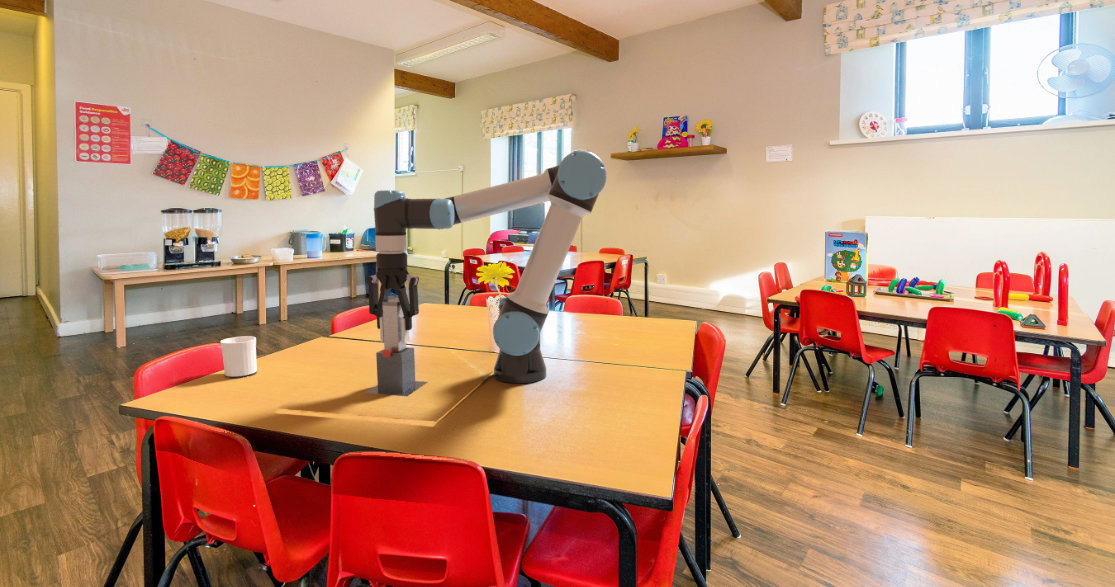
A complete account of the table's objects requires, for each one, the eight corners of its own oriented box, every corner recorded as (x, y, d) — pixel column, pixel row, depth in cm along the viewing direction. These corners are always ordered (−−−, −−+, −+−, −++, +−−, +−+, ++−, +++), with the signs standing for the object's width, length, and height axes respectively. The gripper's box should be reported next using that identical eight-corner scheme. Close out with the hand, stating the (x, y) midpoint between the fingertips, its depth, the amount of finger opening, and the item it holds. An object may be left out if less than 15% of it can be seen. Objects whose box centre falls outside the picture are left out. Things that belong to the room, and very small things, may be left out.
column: (407, 385, 144) (404, 299, 141) (400, 390, 140) (396, 302, 137) (393, 384, 145) (390, 299, 142) (386, 389, 141) (382, 301, 138)
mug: (264, 373, 159) (262, 338, 157) (233, 380, 151) (230, 344, 150) (244, 367, 164) (242, 334, 163) (213, 374, 157) (210, 339, 156)
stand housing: (428, 385, 147) (426, 342, 146) (407, 400, 136) (405, 353, 134) (387, 382, 150) (386, 340, 148) (364, 396, 138) (361, 350, 137)
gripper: (431, 251, 140) (434, 340, 143) (366, 250, 143) (370, 336, 146) (418, 253, 132) (421, 346, 136) (350, 252, 136) (355, 343, 139)
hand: (395, 341), depth 141 cm, fingers open, 5 cm apart
